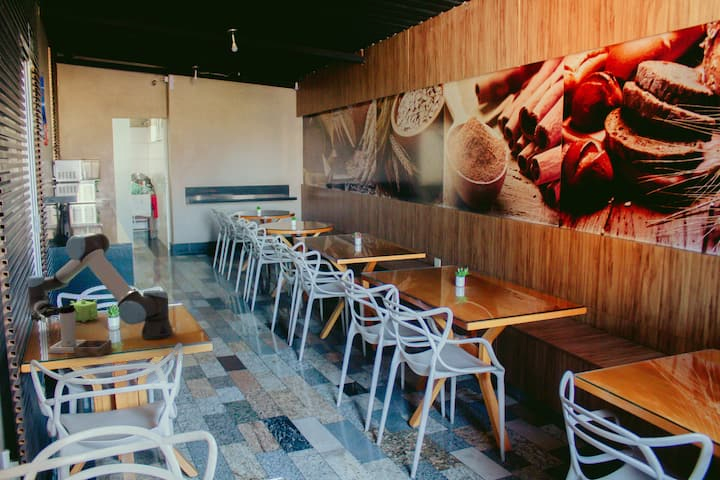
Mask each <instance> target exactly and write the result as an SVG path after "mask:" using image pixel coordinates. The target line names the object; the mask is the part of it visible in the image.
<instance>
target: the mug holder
mask: <svg viewBox="0 0 720 480" xmlns="http://www.w3.org/2000/svg"><path fill="white" fill-rule="evenodd" d="M84 340H85V341H83V342H82V343H80V344H79V345H77V346H76V347H74V353H73V357H74V358H75V357H76V358H77V357H78V358H79V357H81V358H82V357H84V358H85V357H88V358H89V357H91V358H92V357H94V358H95V357H98V358H99V357H103V356H104V355H106V354H107V352H109V351H110V350H111V349H113V347H112V339H84Z"/></svg>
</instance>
